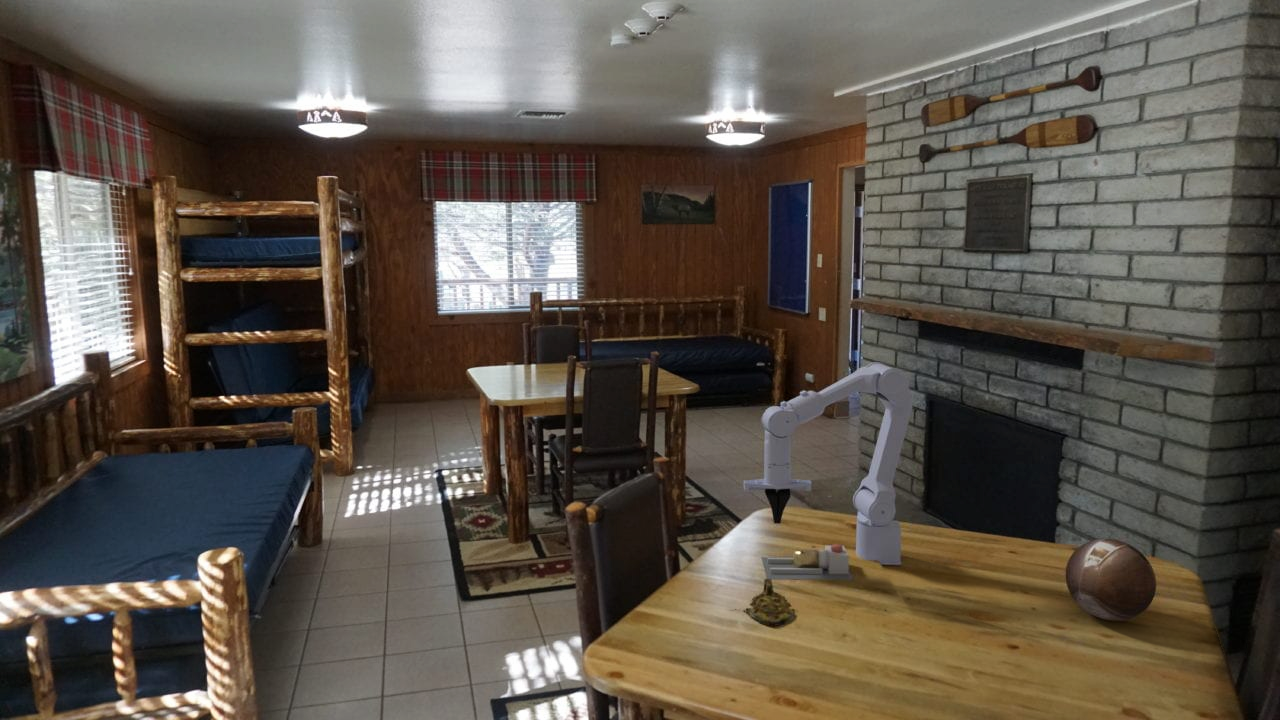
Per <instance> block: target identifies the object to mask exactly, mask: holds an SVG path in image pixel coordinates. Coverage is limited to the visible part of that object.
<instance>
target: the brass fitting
mask: <svg viewBox="0 0 1280 720" xmlns="http://www.w3.org/2000/svg"><path fill="white" fill-rule="evenodd" d="M818 550H819V549H792V557H793V566H794V568H818V567H819V555H818Z"/></svg>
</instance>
